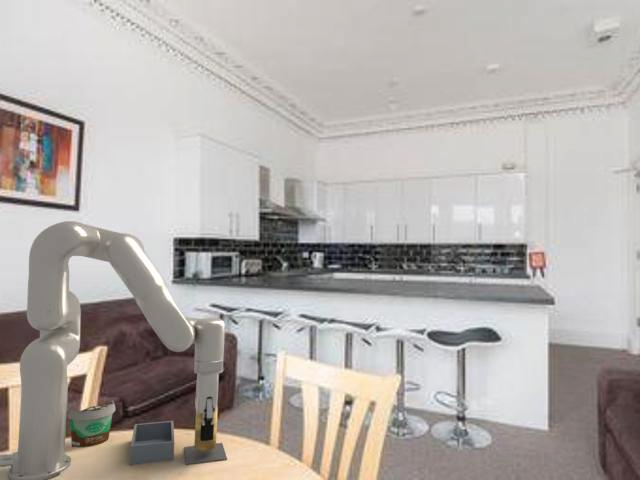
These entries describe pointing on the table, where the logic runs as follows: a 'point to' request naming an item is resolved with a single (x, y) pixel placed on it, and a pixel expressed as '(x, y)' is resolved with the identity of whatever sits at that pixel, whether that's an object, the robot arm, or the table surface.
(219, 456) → the gray square plate
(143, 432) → the slate open box
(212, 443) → the mustard cylinder
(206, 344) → the robot arm
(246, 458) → the table surface
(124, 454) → the table surface
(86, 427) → the food container
